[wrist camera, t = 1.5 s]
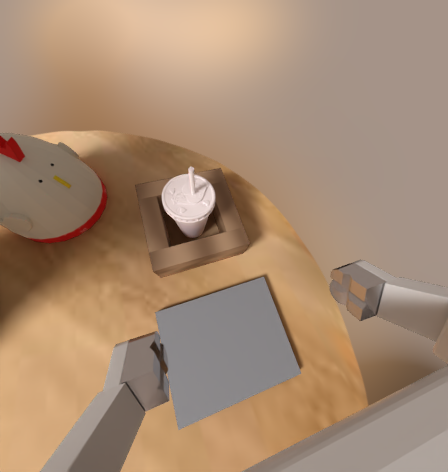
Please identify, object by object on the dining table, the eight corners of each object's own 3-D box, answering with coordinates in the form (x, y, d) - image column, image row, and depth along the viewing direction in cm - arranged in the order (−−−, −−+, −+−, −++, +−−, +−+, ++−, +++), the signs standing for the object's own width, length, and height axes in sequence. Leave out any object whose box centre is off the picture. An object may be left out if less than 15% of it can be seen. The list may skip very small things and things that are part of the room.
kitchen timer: (81, 253, 29) (-30, 199, 15) (-10, 230, 29) (-208, 155, 15) (120, 178, 34) (64, 87, 20) (43, 158, 34) (-68, 53, 20)
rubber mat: (179, 425, 23) (178, 429, 22) (156, 312, 27) (155, 312, 26) (297, 371, 26) (301, 373, 25) (261, 277, 30) (263, 276, 29)
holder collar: (161, 277, 29) (152, 271, 24) (144, 202, 33) (135, 185, 28) (243, 253, 31) (249, 243, 27) (218, 186, 35) (220, 168, 31)
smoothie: (219, 235, 32) (230, 184, 19) (183, 253, 30) (168, 209, 17) (201, 204, 34) (200, 138, 21) (166, 219, 32) (141, 157, 19)
